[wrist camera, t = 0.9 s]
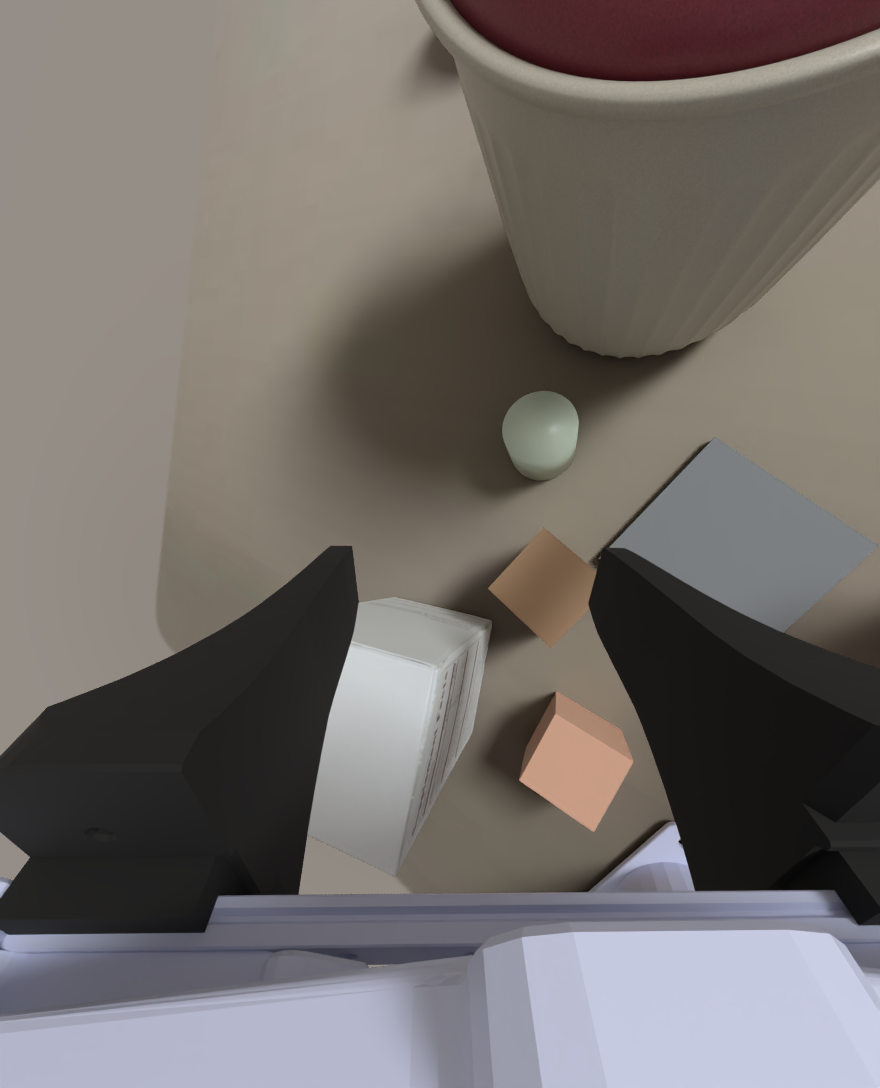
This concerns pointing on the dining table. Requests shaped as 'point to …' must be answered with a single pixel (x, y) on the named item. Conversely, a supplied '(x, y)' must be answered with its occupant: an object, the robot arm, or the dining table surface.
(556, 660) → the dining table surface
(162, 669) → the robot arm
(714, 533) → the slate mat
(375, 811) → the supplement box
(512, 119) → the canister
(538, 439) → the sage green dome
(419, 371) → the dining table surface
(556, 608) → the walnut block
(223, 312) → the dining table surface
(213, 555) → the dining table surface
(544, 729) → the terracotta cube
